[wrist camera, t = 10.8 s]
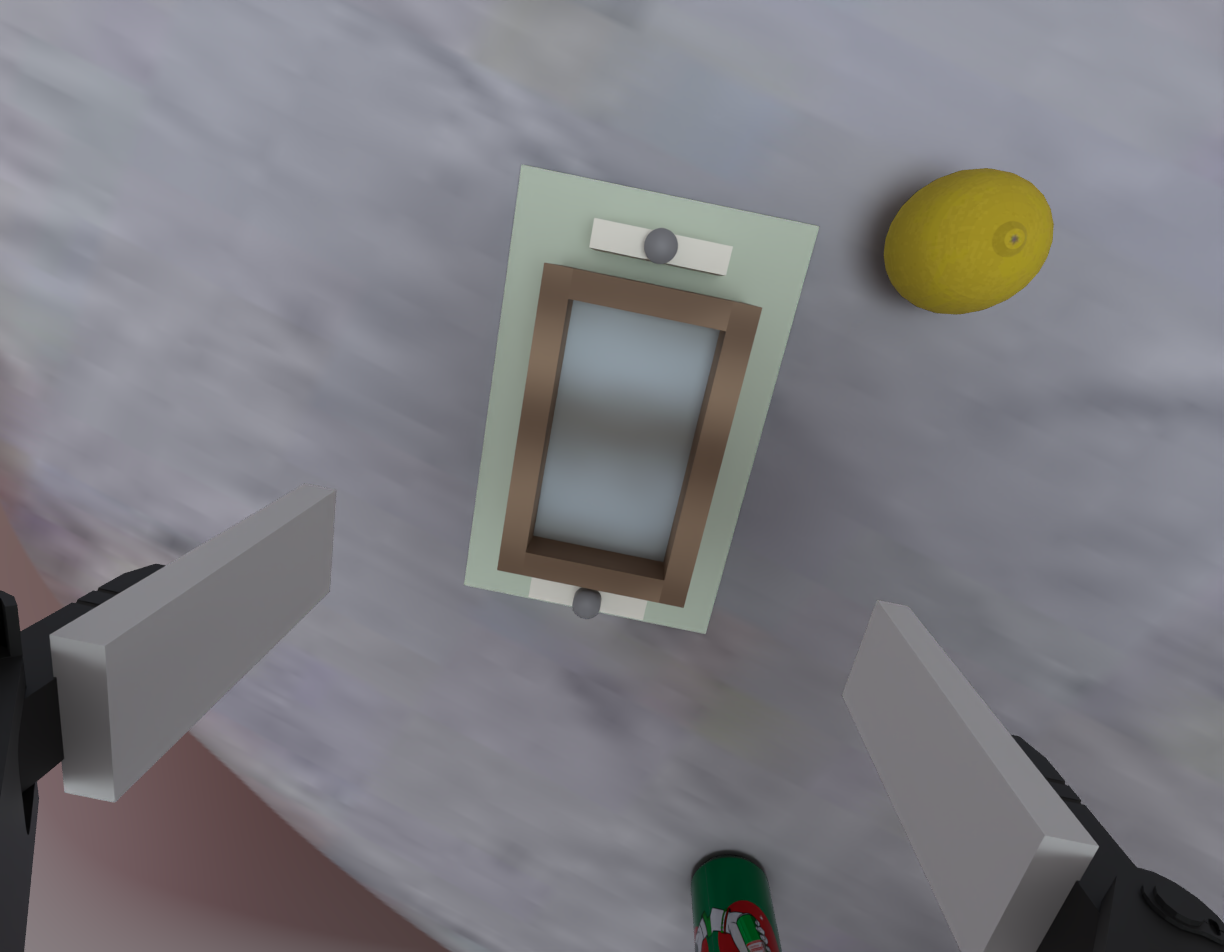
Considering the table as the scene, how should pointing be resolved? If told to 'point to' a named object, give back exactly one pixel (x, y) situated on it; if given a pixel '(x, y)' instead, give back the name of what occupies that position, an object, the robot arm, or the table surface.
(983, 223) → the lemon
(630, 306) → the brown wooden open box
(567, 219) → the wall board
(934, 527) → the table surface
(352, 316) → the table surface
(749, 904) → the soda can
